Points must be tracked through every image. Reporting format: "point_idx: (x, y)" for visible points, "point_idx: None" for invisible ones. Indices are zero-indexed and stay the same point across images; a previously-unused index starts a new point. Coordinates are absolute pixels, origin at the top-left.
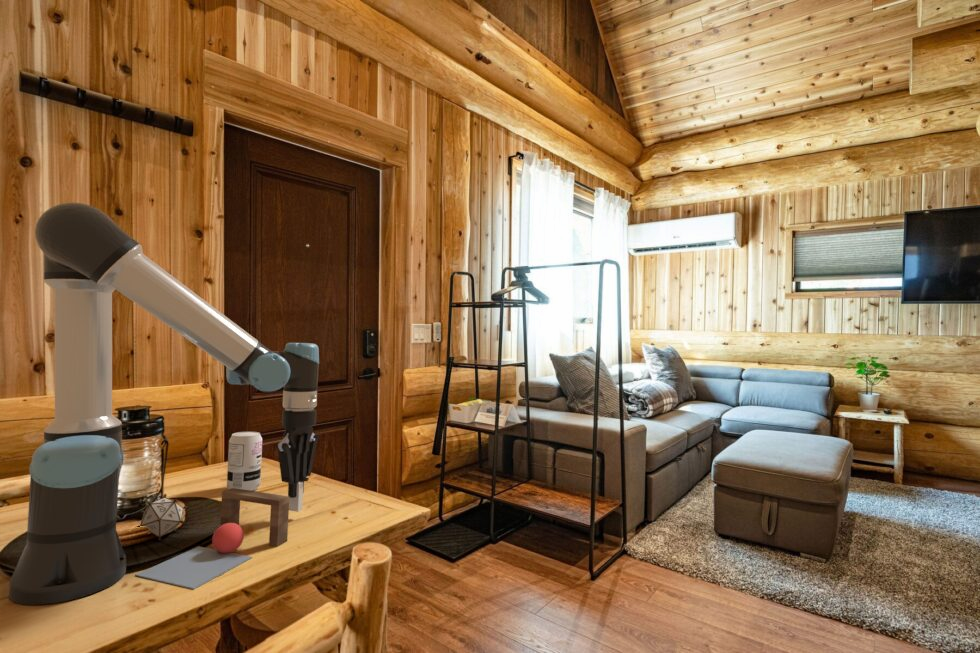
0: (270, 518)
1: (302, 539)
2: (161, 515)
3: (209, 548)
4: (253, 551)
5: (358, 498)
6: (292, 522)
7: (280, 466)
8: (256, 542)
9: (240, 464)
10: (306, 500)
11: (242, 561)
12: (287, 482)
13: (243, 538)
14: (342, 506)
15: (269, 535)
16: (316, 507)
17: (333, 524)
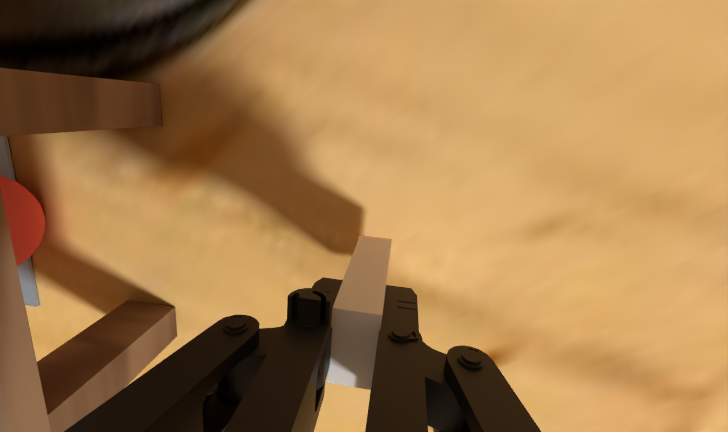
0: (42, 359)
1: None
2: None
3: (3, 138)
4: (73, 281)
5: (714, 388)
6: (331, 264)
7: (88, 421)
8: (126, 249)
9: None
10: (645, 165)
11: None
12: (270, 332)
13: (19, 264)
14: (576, 365)
15: (101, 318)
16: (538, 267)
17: (362, 407)
